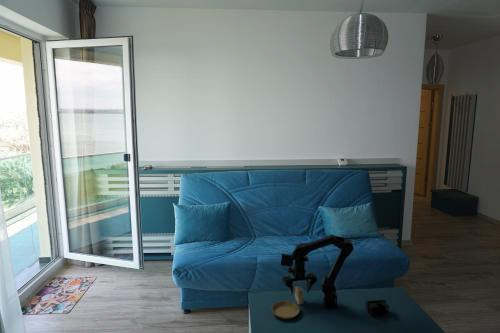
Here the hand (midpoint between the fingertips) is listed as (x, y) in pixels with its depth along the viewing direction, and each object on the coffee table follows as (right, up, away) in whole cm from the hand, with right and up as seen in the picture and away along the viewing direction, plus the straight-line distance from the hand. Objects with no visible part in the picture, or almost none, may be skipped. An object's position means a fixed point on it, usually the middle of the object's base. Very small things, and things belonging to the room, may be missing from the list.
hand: (299, 293), depth 185 cm
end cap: (+39, -6, -11) cm, 41 cm away
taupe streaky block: (0, -5, +1) cm, 5 cm away
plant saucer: (-9, -7, -10) cm, 15 cm away
